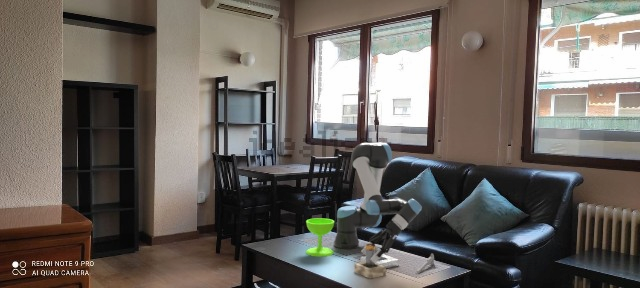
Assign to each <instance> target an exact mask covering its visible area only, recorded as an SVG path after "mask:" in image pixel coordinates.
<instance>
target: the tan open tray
mask: <svg viewBox="0 0 640 288" xmlns="http://www.w3.org/2000/svg"><path fill="white" fill-rule="evenodd" d="M353 269H354V270H353V271H354V272H353V273H357V274H358V275H361V276H363V277H366V278H367V279H374V278H379V277H383V276H387V268H386V267H385V266H382V265H380V264H377V263H375V267H373V268H368V267H366V262H361V261H360V262H356V263H354V268H353Z"/></svg>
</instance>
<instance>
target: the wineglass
mask: <svg viewBox="0 0 640 288" xmlns="http://www.w3.org/2000/svg"><path fill="white" fill-rule="evenodd" d="M305 223H306V227H307V229H308V230H309V232H310V233H311V234H313V235H316V236H317V239H318V240H317V242H318V243H317V247H311V248H308V249H307V250H306V251H305V254H306V255H308V256H310V255H311V256H312V257H320V258H321V257H329V256H330V257H331V256H332V254H333V253H334V250H332V249H331V248H328V247H322V243H323V242H322V240H323V239H322V237H323V236H325V235H327V234H329V233H330V232H331V231H332V230H333V228H334V226H335V220H333V219H330V218H321V217H319V218H317V217H316V218H315V217H314V218H310V219H307V220H306V221H305ZM334 254H335V253H334ZM334 254H333V255H334Z"/></svg>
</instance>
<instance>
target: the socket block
mask: <svg viewBox="0 0 640 288" xmlns="http://www.w3.org/2000/svg"><path fill="white" fill-rule="evenodd" d="M399 261H400V259H398V258H395V257H392V256H389V255H386V254H385V253H383V255H382V256H381V257H380V258H379V259H378V260H377V261H376V262H375V263H377V264H380V265H382V266H385V267H386V269H389V268H393V267H397V266H399V265H400V263H399ZM361 262H366V255H364V256H360V263H361Z"/></svg>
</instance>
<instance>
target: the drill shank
mask: <svg viewBox="0 0 640 288" xmlns="http://www.w3.org/2000/svg"><path fill="white" fill-rule="evenodd" d="M365 246H366V255H365V256H366V267H368V268H373V267H375V263H374V262H373V261H372V260H371V258H372V257H373V255H374V254H375V253H376V244H375V245H374V244H368V243H366V244H365Z"/></svg>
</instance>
